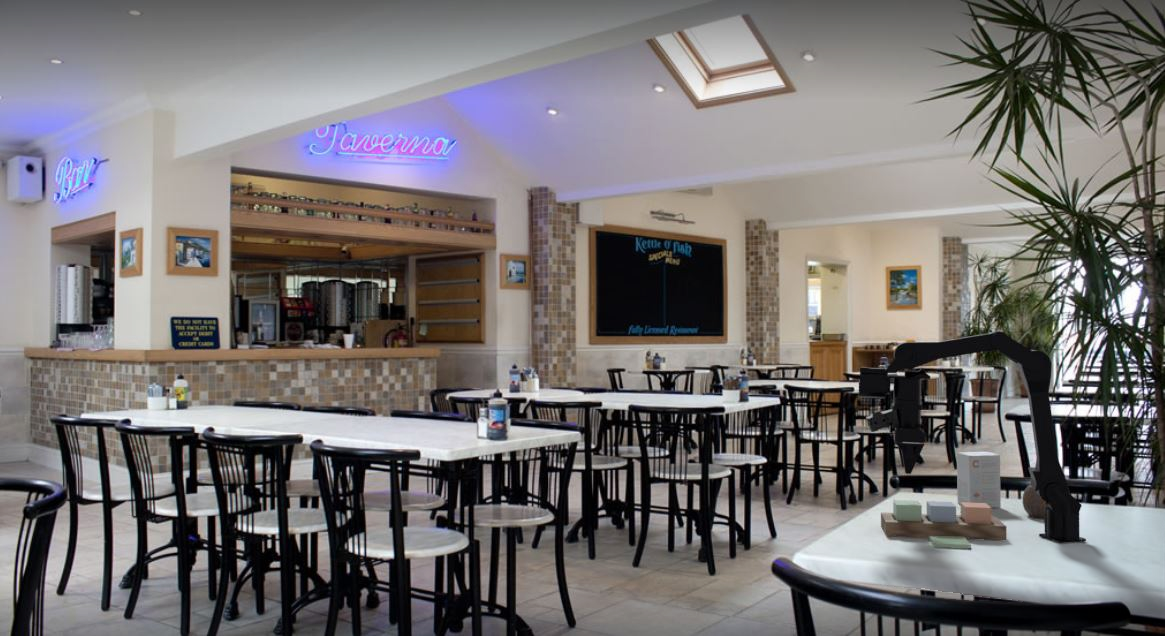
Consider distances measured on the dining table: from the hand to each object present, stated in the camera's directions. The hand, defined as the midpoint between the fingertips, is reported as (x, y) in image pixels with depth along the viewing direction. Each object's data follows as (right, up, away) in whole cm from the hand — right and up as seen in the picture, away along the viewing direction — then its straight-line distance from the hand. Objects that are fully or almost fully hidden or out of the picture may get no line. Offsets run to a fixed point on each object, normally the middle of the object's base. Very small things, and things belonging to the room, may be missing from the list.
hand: (906, 470), depth 203 cm
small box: (+27, -13, +26) cm, 40 cm away
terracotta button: (+13, -11, -4) cm, 18 cm away
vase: (+36, -13, +14) cm, 40 cm away
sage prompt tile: (+5, -13, -13) cm, 19 cm away
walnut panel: (+7, -13, -3) cm, 15 cm away
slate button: (+7, -11, -3) cm, 13 cm away
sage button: (0, -11, -1) cm, 11 cm away
